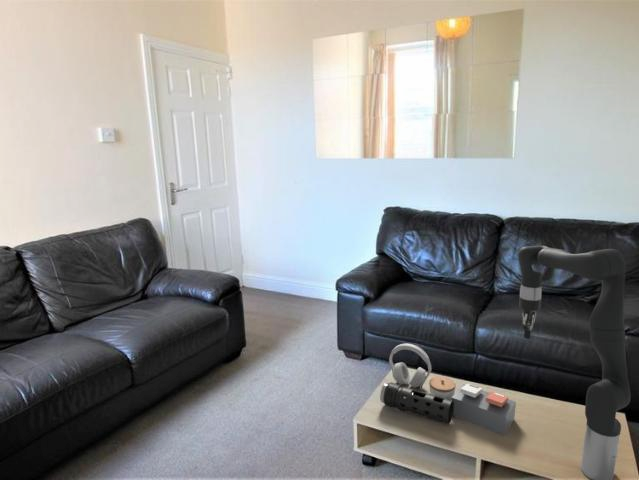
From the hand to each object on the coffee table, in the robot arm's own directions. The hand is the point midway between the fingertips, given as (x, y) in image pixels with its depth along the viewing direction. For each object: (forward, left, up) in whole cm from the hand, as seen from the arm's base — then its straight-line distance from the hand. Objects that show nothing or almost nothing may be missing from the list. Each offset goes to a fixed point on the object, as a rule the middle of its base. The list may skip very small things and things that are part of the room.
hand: (527, 337), depth 173 cm
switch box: (+10, +16, -31) cm, 37 cm away
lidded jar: (+28, +14, -31) cm, 44 cm away
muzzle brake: (+32, +30, -31) cm, 54 cm away
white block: (+15, +16, -22) cm, 31 cm away
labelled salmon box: (+5, +16, -22) cm, 28 cm away
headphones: (+44, +13, -31) cm, 56 cm away
